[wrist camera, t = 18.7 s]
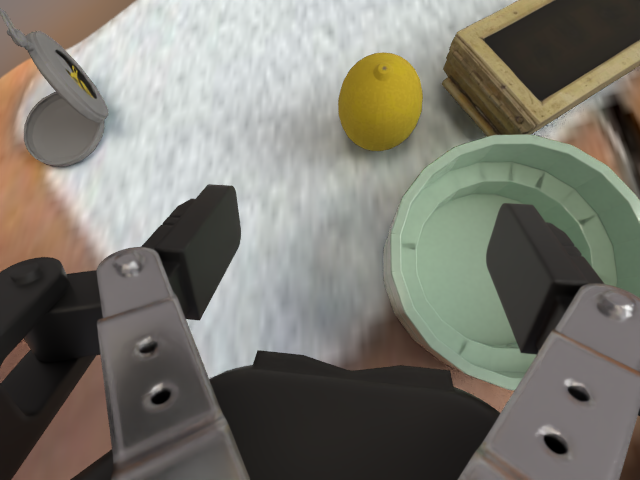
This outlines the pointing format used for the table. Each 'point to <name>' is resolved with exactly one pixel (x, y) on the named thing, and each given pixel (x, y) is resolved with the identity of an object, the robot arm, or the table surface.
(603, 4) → the box
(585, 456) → the robot arm
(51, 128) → the pocket watch
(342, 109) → the lemon
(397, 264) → the bowl
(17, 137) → the table surface
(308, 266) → the table surface
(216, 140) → the table surface
